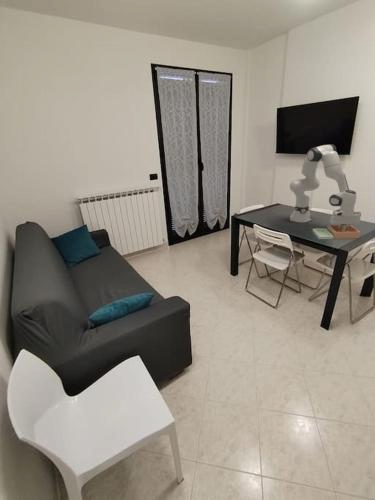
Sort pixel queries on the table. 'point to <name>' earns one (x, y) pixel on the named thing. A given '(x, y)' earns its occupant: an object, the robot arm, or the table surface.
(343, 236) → the orange hollow square box
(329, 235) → the green tray
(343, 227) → the birch cylinder
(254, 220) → the table surface
